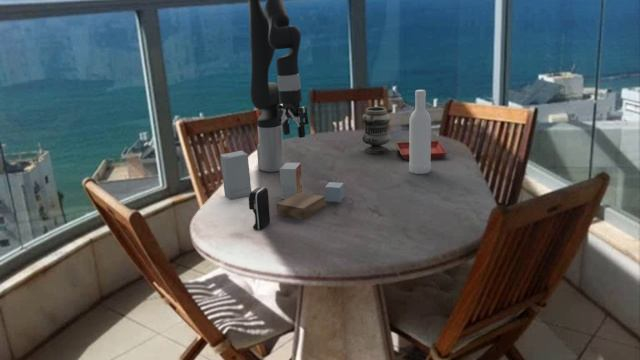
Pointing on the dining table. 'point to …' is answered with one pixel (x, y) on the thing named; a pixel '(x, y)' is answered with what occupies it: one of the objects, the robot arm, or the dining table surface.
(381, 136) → the apothecary jar
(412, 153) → the bottle
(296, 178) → the small box
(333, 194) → the blue-grey cube
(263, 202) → the battery charger
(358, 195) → the dining table surface
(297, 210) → the walnut slab
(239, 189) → the skincare box
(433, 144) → the plant saucer
